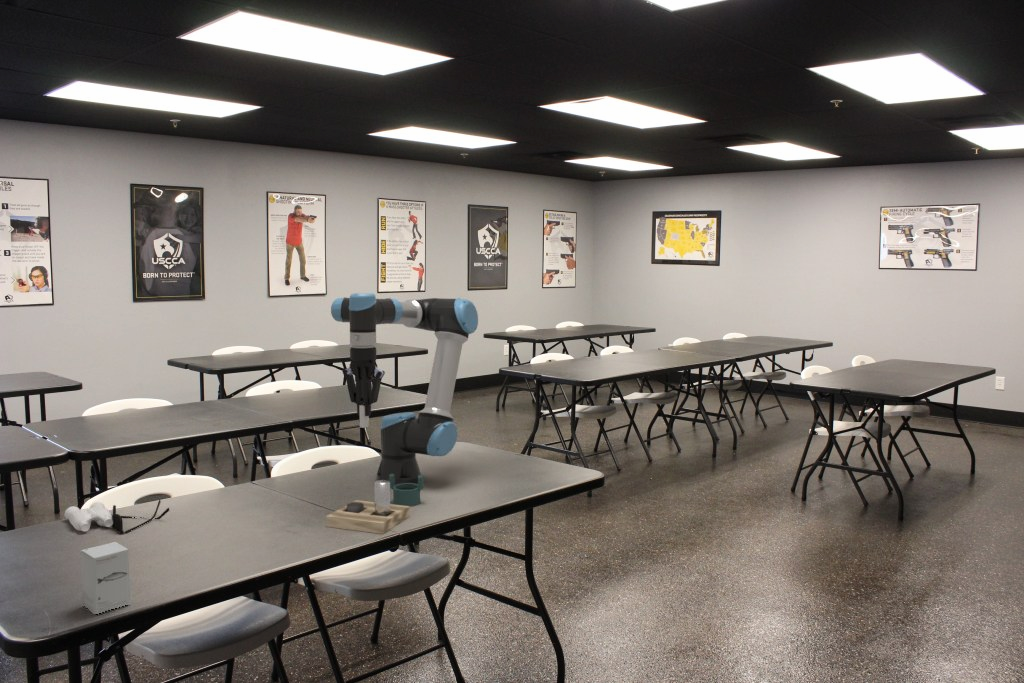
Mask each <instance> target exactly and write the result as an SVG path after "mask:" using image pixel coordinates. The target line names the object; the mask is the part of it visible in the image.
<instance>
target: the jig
mask: <svg viewBox="0 0 1024 683" xmlns="http://www.w3.org/2000/svg"><path fill="white" fill-rule="evenodd" d="M410 517H411V507H410V506H402V505H394V504H393V503H390V515H389V516H387V517H384V516H376V515H375V501H366V500H357V499H355V500H353V501H352V502H349V503H346V505H344V506H342V507H341V508H339V509H337V510H335V511H333V512H331V513H329V514H328V515H326V527H328V528H334V529H335V528H336V529H344V530H350V531H357V532H365V533H366V532H367V533H373V534H379V535H380V534H381V535H384V534H385V533H387V532H388V531H390V530H391V529H393V528H395V527H396V526H397V525H399V524H400V523H402V522H404V521H405V520H407V519H408V518H410Z"/></svg>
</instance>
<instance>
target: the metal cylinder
mask: <svg viewBox="0 0 1024 683" xmlns="http://www.w3.org/2000/svg"><path fill="white" fill-rule="evenodd" d="M373 483H374V502H375V515H376V516H384V517H387V516H389V515H390V504H391V488H390V481H388V480H378V481H377V480H376V481H374V482H373Z"/></svg>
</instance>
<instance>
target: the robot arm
mask: <svg viewBox="0 0 1024 683" xmlns="http://www.w3.org/2000/svg"><path fill="white" fill-rule="evenodd" d="M331 303H332V304H331V306H330V314H331V316H332V318H333V319H334V320H335V321H336V322H341V323H349V345H350V346H351V347H350V348H349V359H350V363H349V367H347V368H345V369H342V371H341V372H342V375H343V376H344V377H345V380H346V382H345V383H346V386H347V389H348V395H349V398H350V399H349V400H350V402H351V403H354V404H356V414H357V416H359V428H363V429H364V428H367V427H369V426H370V419H369V418H370V416H371V415H372V405H373V404H376V403H378V400H379V399H378V398H379V392H380V389H381V383H382V379H383V377H384V376H385V374H386V371H384V370H381V369H379V368H378V364H377V347H376V345H377V325H386V324H387V325H388V324H389V325H391V324H392V325H403V326H405V327H406V328H412V329H413V328H415V329H419V330H424V331H428V332H434V335H435V338H436V340H437V341H436V346H435V347H436V348H435V352H434V358H433V363H432V366H431V367H432V368H431V373H430V378H429V384H428V389H427V393H426V398H425V399H426V400H425V404H424V408H422V410H420V411H418V417H416V413H415V412H411V411H408V412H407V411H405V412H397V413H392V414H391V413H390V414H388V415H385V416H383V417H382V418H381V421H380V423H381V424H380V429H379V430H380V445H381V446H380V447H381V448H380V451H381V458H380V463H379V465H378V469H377V472H376V478H375V479H376V481H378V480H388V481H389V475H390V474H395V485H397V484H402V483H414V484H418V475H422V473H421V469H420V466H419V463H418V461H417V457H416V456H417V455H416V454H419V455H425V456H431V457H445V456H447V455H448V454H450V452H452V450H453V449H454V448H455V445H456V443H457V439H458V431H457V430H458V428H457V425H456V424H455V423H454V422H453V421H454V417H453V415H452V414H451V408H452V403H453V397H454V392H455V386H456V382H457V376H458V371H459V364H460V359H461V354H462V348H463V345H464V343H466V342H468V340H469V335H471V334H473V333H475V332H476V330H477V329H478V326H479V314H478V310H477V308H476V306H475V304H474V303H473V301H471V300H469V299H464V298H463V299H462V298H440V297H439V298H436V297H432V298H423V299H422V298H421V299H407V300H405V301H399V300H398V299H395V298H391V297H389V298H376V294H375V293H373V292H369V293H368V292H358V293H357V292H354V293H351V294H350V296H349V297H339V298H338V297H337V298H336V299H334V300H333V302H331ZM373 376H374V378H373ZM372 381H373V382H372Z"/></svg>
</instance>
